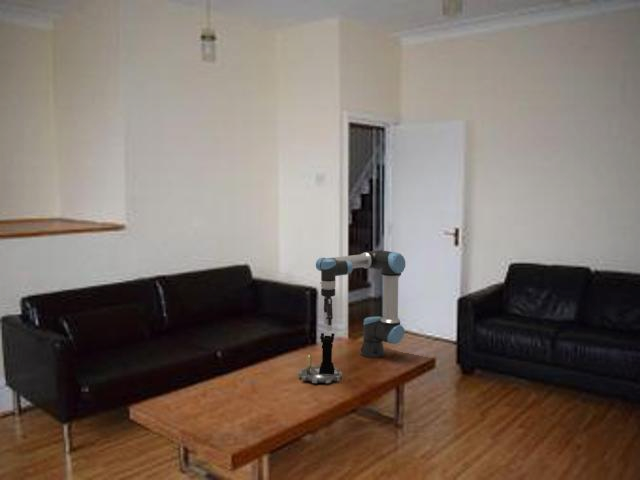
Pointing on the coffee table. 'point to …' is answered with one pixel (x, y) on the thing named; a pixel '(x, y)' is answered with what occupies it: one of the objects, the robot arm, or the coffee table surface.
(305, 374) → the sprocket
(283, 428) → the coffee table surface
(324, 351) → the chess piece
